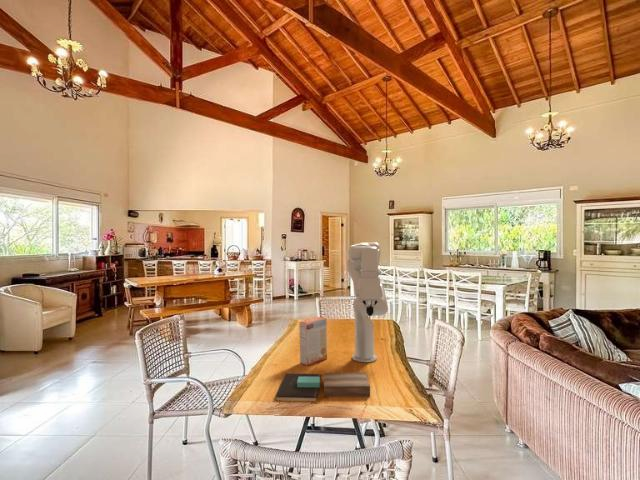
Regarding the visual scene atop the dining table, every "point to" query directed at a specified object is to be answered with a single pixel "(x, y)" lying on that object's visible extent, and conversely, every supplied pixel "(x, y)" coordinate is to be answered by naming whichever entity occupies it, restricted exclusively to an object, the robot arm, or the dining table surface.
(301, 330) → the cracker box
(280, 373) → the dining table surface
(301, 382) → the teal rectangular block
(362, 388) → the brown flat block
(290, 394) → the hardcover book
